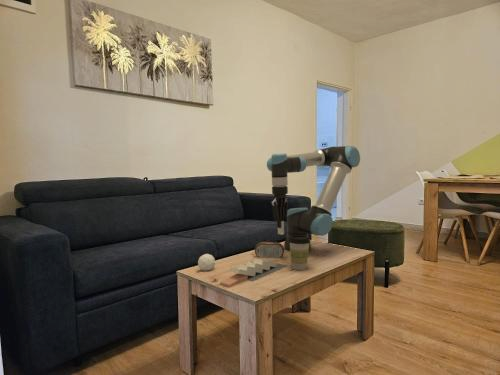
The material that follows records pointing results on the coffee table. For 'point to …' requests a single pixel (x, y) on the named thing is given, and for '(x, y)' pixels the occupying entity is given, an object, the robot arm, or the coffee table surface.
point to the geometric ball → (206, 262)
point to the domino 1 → (234, 280)
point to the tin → (269, 249)
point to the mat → (266, 272)
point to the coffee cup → (299, 251)
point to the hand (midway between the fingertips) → (280, 233)
